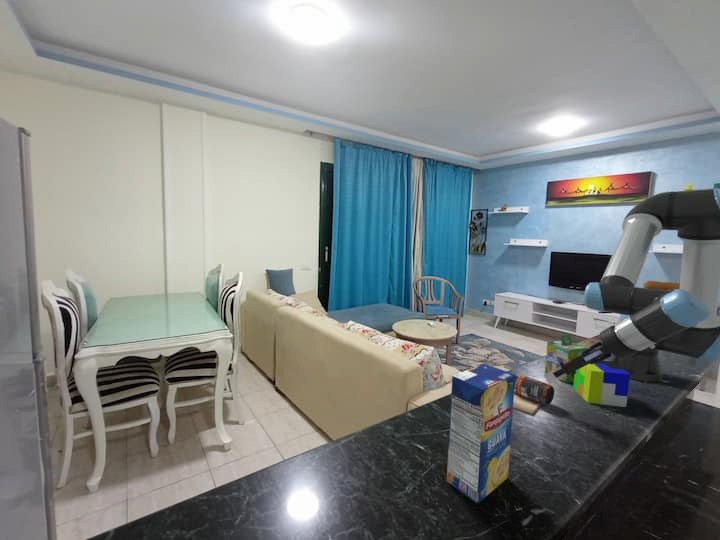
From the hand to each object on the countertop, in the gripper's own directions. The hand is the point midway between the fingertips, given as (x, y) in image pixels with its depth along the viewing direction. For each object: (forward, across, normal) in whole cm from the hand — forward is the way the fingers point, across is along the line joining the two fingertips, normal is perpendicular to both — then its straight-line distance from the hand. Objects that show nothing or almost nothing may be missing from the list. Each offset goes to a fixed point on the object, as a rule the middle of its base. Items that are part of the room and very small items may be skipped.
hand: (547, 379), depth 94 cm
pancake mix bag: (+5, +116, -8) cm, 116 cm away
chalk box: (+10, +27, -2) cm, 29 cm away
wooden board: (+11, 0, -1) cm, 11 cm away
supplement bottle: (+3, 0, -4) cm, 5 cm away
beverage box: (+2, -41, -10) cm, 42 cm away
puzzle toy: (+2, +20, -11) cm, 23 cm away
